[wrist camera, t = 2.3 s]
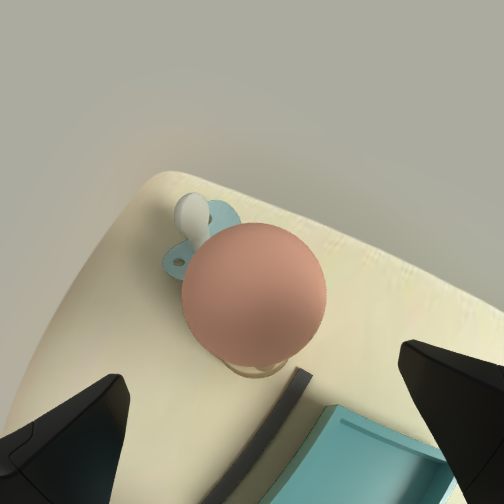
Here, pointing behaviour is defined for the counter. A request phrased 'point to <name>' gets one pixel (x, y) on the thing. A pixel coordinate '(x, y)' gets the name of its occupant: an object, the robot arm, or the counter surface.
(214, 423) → the counter surface
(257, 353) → the ball
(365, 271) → the counter surface
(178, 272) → the pacifier
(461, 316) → the counter surface
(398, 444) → the tray
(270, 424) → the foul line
